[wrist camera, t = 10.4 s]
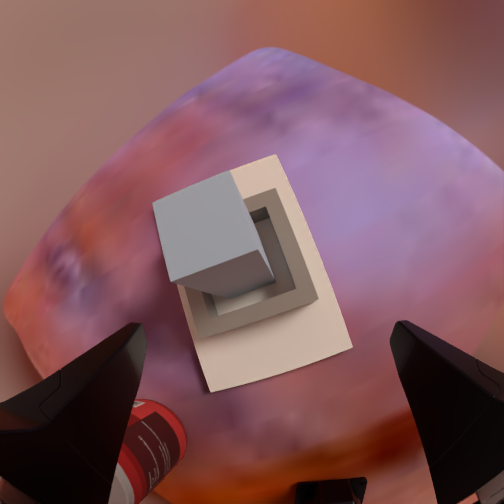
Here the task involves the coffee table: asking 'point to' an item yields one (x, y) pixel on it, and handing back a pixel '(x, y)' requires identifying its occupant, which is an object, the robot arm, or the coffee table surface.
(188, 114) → the coffee table surface
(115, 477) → the canned food
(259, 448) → the coffee table surface
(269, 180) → the well
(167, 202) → the post
